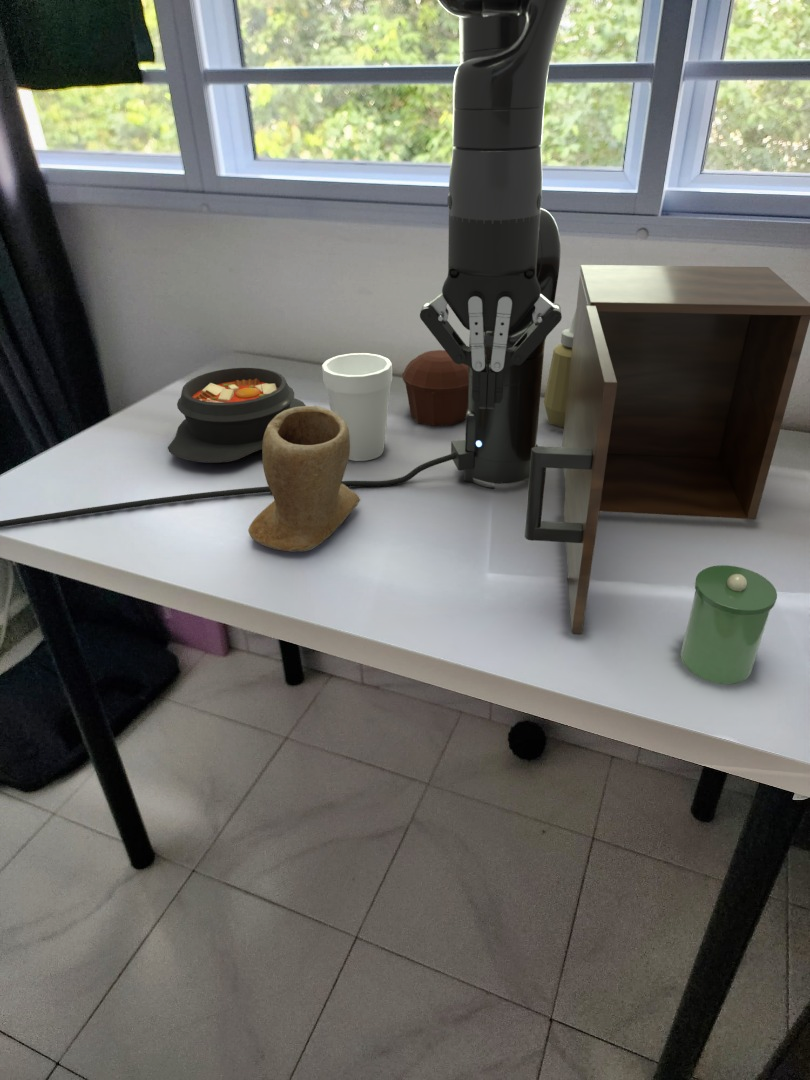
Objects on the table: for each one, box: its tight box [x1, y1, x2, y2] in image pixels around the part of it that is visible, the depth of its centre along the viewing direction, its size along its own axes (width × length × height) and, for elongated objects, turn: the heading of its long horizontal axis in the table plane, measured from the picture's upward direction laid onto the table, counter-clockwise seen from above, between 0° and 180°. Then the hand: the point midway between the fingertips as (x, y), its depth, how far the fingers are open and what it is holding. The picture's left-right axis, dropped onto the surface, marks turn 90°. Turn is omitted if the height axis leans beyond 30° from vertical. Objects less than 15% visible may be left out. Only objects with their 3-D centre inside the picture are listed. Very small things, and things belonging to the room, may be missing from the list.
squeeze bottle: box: [543, 310, 576, 428], centre depth 110 cm, size 8×8×18 cm
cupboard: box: [561, 264, 810, 520], centre depth 91 cm, size 17×22×26 cm
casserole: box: [167, 367, 307, 464], centre depth 111 cm, size 25×19×8 cm
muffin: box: [402, 349, 469, 427], centre depth 116 cm, size 12×11×10 cm
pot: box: [680, 564, 778, 685], centre depth 67 cm, size 7×7×10 cm
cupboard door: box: [524, 306, 617, 635], centre depth 76 cm, size 6×22×26 cm, turn 172°
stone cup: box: [247, 405, 361, 553], centre depth 87 cm, size 15×12×15 cm
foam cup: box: [321, 352, 393, 462], centre depth 105 cm, size 10×9×13 cm
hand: (486, 405), depth 71 cm, fingers closed
